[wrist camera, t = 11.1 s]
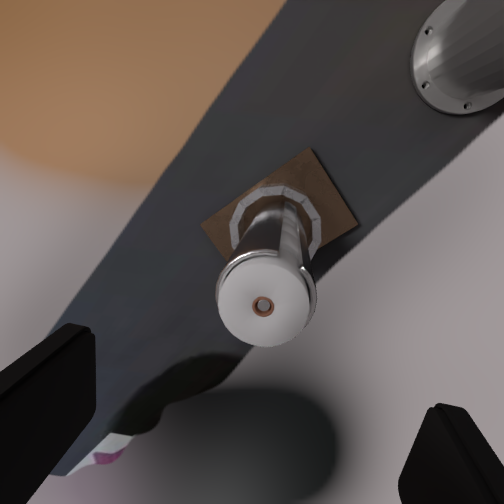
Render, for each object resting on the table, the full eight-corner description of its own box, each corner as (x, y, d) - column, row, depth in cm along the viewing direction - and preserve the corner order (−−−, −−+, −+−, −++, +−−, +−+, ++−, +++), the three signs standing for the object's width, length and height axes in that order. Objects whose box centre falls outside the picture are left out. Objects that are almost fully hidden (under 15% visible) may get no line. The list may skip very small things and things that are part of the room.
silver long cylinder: (311, 232, 42) (338, 327, 18) (269, 254, 44) (245, 367, 20) (288, 190, 41) (285, 233, 17) (246, 214, 43) (190, 284, 19)
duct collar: (308, 147, 41) (311, 144, 34) (356, 222, 43) (367, 232, 36) (202, 222, 45) (188, 232, 39) (249, 287, 47) (243, 306, 41)
